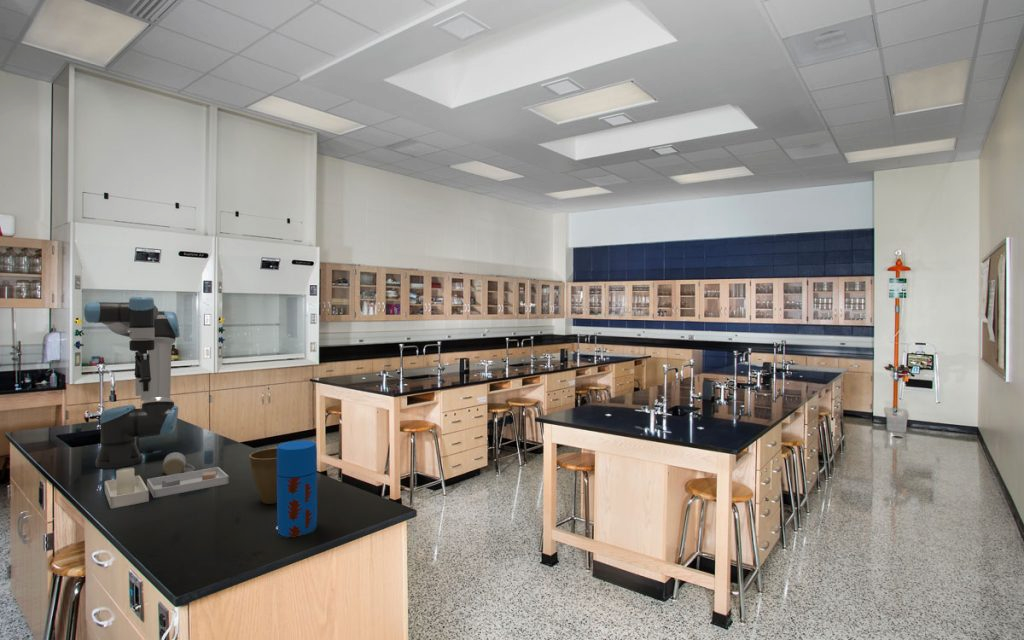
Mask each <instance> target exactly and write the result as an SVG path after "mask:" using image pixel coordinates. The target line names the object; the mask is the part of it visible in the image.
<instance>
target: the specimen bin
mask: <svg viewBox="0 0 1024 640" xmlns="http://www.w3.org/2000/svg"><path fill="white" fill-rule="evenodd" d="M134 476H135V492H134V493H129V494H123V495H118V496H117V478H115V479H110V480H104V493H105V496H106V499H107V501H108V502H107V503H108V504H109V508H110V509H111V510H113V509H118V508H123V507H128V506H133V505H139V504H144V503H149V501H150V491H149V489H148V488H147V484H145V482H144V480H143V478H142V477H141V475H139V474H138V475H134Z"/></svg>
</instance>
